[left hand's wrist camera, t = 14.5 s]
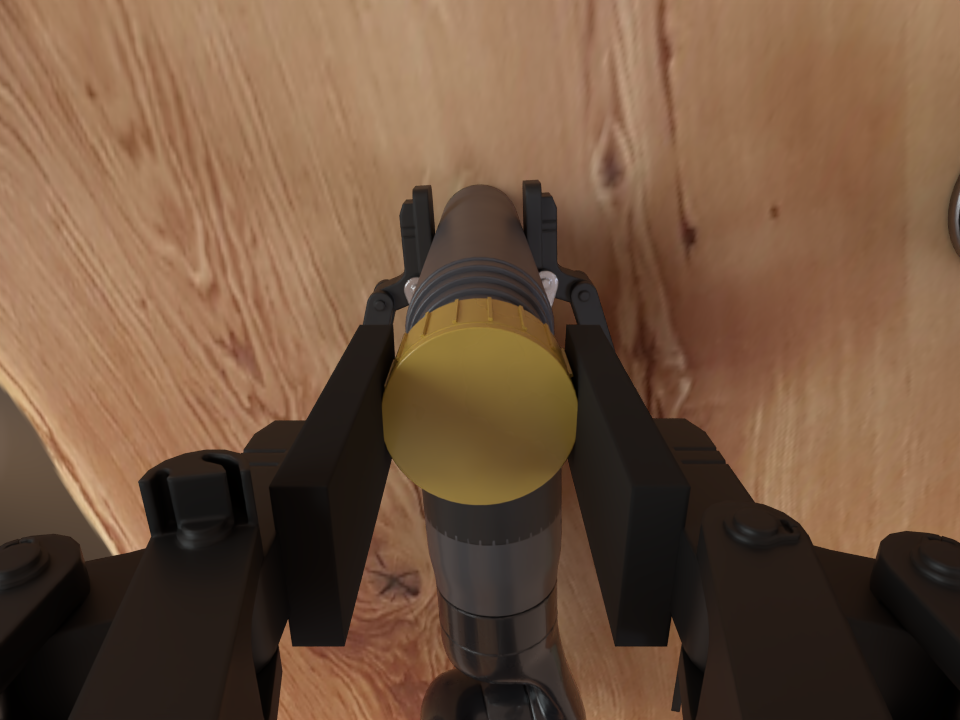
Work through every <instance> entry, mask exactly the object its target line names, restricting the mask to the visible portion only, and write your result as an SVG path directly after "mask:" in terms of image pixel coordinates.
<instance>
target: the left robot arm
mask: <svg viewBox="0 0 960 720" xmlns="http://www.w3.org/2000/svg"><path fill="white" fill-rule="evenodd" d="M565 353H566V356H567V359H568V362H569V364H570V367H571V370H572V373H573V376H574V377H571V379H572V382H573V385H574V388H575V390H576V394H577V398H578V410H577V425H576V439H575V443H574V446H573V449H572V451H571V453H570V454H569V456H568V462H569V466H570V470H571V474H572V478H573V482H574V486H575V489H576V493H577V497H578V501H579V505H580V509H581V513H582V517H583V521H584V525H585V529H586V533H587V537H588V541H589V545H590V549H591V553H592V557H593V561H594V565H595V569H596V573H597V577H598V581H599V584H600V588H601V592H602V596H603V600H604V604H605V608H606V612H607V616H608V620H609V624H610V628H611V632H612V636H613V640H614V644H615V646H667V644H668V637H669V631H670V624H671V617H672V618H673V621H674V624H675V626H676V629H677V631H678V634H679V637H680V639H681V642H682V646H681V652H680V658H679V665H678V671H677V677H676V683H675V689H674V696H673V702H672V709H671V711H676V712H680V707H681V705H682V714H683V720H960V543H959V542H957V541H956V540H953V539H950V538H947V537H944V536H942V537H941V536H939V535H936V534H931V533H923V532H912V531H904V532H898V533H892V534H889V535H888V536H887V537H886V538H884V539H883V540H882V541H881V542H880V546H879V549H878V552H877V556H876V559H873V558H868V557H863V556H858V555H853V554H848V553H843V552H838V551H833V550H829V549H825V548H821V547H818V546H814V545H813V544H812V542H811V539H810V537H809V535H808V534H807V533H806V531H805V530H804V529H803V528H802V526H801V525H800V524H799V523H798V522H797V521H795V520H794V519H792V518H791V517H789V516H788V515H787V514H785V513H784V512H781V511H779V510H776V509H774V508H772V507H769V506H767V505H764V504H759V503H755V502H754V500H753V499H752V498H751V496H750V495H749V493H748V492H747V490H746V489H745V488H744V486H743V485H742V483H741V482H740V481H739V479H738V478H737V476H736V475H735V473H734V472H733V471H732V469H731V468H730V466H729V465H728V464H726V463H725V459H724V458H723V456H722V455H721V454H720V452H719V451H716V446H715V445H714V444H713V442H712V441H711V439H710V438H709V436H708V435H707V434H706V432H705V431H703V430H702V429H700V428H698V427H697V426H695V425H694V424H692V423H691V422H689V421H688V420H686V419H652V417H651V415H650V413H649V411H648V410H647V408H646V406H645V404H644V403H643V401H642V399H641V397H640V395H639V394H638V392H637V390H636V388H635V387H634V385H633V383H632V381H631V379H630V378H629V376H628V374H627V372H626V371H625V369H624V367H623V365H622V363H621V362H620V360H619V358H618V356H617V355H616V353H615V351H614V349H613V347H612V346H611V344H610V342H609V340H608V339H607V337H606V335H605V333H604V331H603V330H602V328H601V326H600V325H566V343H565ZM393 359H394V360H395V350H394V332H393V325H359V327H358V329H357V331H356V332H355V334H354V336H353V338H352V340H351V341H350V343H349V345H348V347H347V348H346V350H345V352H344V354H343V356H342V357H341V359H340V361H339V363H338V364H337V366H336V368H335V370H334V372H333V373H332V375H331V377H330V379H329V380H328V382H327V384H326V386H325V388H324V389H323V391H322V393H321V395H320V396H319V398H318V400H317V402H316V404H315V405H314V407H313V409H312V411H311V412H310V414H309V416H308V418H307V420H306V421H274V422H272V423H271V424H269V425H268V426H266V427H265V428H263V429H261V430H260V431H258V432H257V433H255V434H254V436H253V437H252V438H251V440H250V441H249V443H248V444H247V446H246V447H245V448H244V452H243V453H241V454H240V453H236V452H232V451H228V450H201V451H196V452H190V453H185V454H182V455H179V456H176V457H174V458H171V459H168V460H165V461H163V462H162V463H160V464H158V465H157V466H155V467H153V468H152V469H150V470H148V471H147V473H146V474H145V475H144V476H143V477H142V478H141V479H140V480H139V481H138V483H139V487H140V491H141V495H142V500H143V504H144V508H145V512H146V516H147V520H148V524H149V529H150V533H151V538H150V541H149V543H148V545H147V547H146V548H145V549H141V550H137V551H134V552H130V553H125V554H120V555H115V556H110V557H105V558H100V559H95V560H91V561H86V562H85V561H84V558H83V554H82V551H81V548H80V544H78V543H77V542H76V541H75V540H74V539H72V538H71V537H69V536H63V535H58V534H47V535H37V536H29V537H24V538H21V539H19V540H18V539H16V540H13V541H10V542H7V543H5V544H3V545H2V546H0V720H277V715H278V706H279V697H280V688H281V679H282V665H281V658H280V652H279V646H278V644H279V641H280V639H281V636H282V634H283V631H284V628H285V626H286V623H287V620H289V627H290V634H291V640H292V646H345V642H346V638H347V634H348V630H349V626H350V622H351V619H352V615H353V611H354V607H355V603H356V599H357V595H358V591H359V587H360V583H361V579H362V575H363V571H364V567H365V563H366V559H367V555H368V551H369V547H370V543H371V539H372V535H373V531H374V528H375V524H376V520H377V516H378V512H379V508H380V504H381V500H382V496H383V492H384V488H385V484H386V480H387V476H388V472H389V468H390V464H391V460H392V457H391V455H390V453H389V451H388V450H387V447H386V444H385V442H384V431H383V416H382V397H383V393H384V385H385V382H386V379H387V377H388V374H389V371H390V368H391V365H392V362H393Z"/></svg>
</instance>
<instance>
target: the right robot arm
mask: <svg viewBox="0 0 960 720" xmlns="http://www.w3.org/2000/svg"><path fill="white" fill-rule="evenodd" d="M399 216H400V227H401V237H402V247H403V257H404V267H405V270H404V273H403V274H401V275H400V276H397V277H395V278H393V279H390V280H382V281H380V282H379V283H378V284H377V285H376V287H375V289H374V292H373V293H372V294H371V295H370V297H369V299H368V301H367V306H366V311H365V316H364V322H363V325H393V321H394V316H395V312H396V310H399V309H401V308H403V307H406V306H408V305H409V304H410V302H411V299H412V296H413V293H414V291H415V288H416V285H417V283H418V280H419V277H420V274H421V272H422V269H423V266H424V263H425V261H426V258H427V255H428V253H429V250H430V247H431V244H432V242H433V239H434V236H435V224H434V211H433V199H432V189H431V185H424V186H415V187H414V189H413V199H411V200H406V201H405V202H404V203H403V205H402V208H401V212H400V215H399ZM523 227H524V234H525V237H526V239H527V242H528V245H529V248H530V250H531V253H532V256H533V259H534V261H535V264H536V267H537V269H538V272H539V275H540V278H541V280H542V283H543V286H544V289H545V291H546V294H547V297H548V300H549V302H550V305H551V308H552V305H553V301H554V298H557V299H561V300H564V301H567V302H570V303H571V306H572V310H573V313H574V316H575V319H576V322H577V325H600V326H601V328H602V330H603V331H604V333H605V335H606V337H607V339H608V340H609V342H610V344H611V346H612V347H613V349H614V346H613V343H612V340H611V336H610V333H609V330H608V326H607V323H606V320H605V316H604V313H603V310H602V307H601V303H600V300H599V297H598V293H597V290H596V288H595V287H594V285H593V284H592V282H591V281H590V279H589V278H588V276H587V275H586V274H585V273H584V272H582V271H573V270H569V269H566V268H563V267H561V266H560V265H559V264H558V263H557V207H556V205H555V202H554V200H553V197H552V196H551V194H550V193H542V192H541V183H540V182H539V180H525V181H523ZM948 228H949V234H950V238H951V242H952V244H953V247H954V249H955V251H956V252H957V254H958V256H959V257H960V175H959V177H958V179H957V182H956V184H955V187H954V189H953V192H952V196H951V199H950V204H949V211H948ZM614 351H615V349H614ZM422 493H423V503H424V512H425V522H426V532H427V541H428V549H429V554H430V558H431V562H432V566H433V569H434V573H435V578H436V584H437V595H438V605H439V618H440V628H441V636H442V641H443V645H444V648H445V651H446V654H447V656H448V658H449V659H450V661H451V662H452V664H453V665H454V666H455V667H456V668H455V669H451V670H448V671H446V672H444V673H442V674H440V675H438V676H437V677H436V678H435V679H434V680H433V682H432V683H431V684H430V686H429V687H428V689H427V691H426V693H425V696H424V699H423V702H422V706H421V713H420V720H586V713H585V709H584V705H583V702H582V699H581V695H580V692H579V690H578V687H577V685H576V682H575V680H574V678H573V675H572V673H571V670H570V668H569V666H568V663H567V661H566V658H565V654H564V651H563V647H562V644H561V639H560V634H559V628H558V617H557V614H558V612H557V569H558V562H559V557H560V551H561V535H562V519H561V468H560V469H559V471H558V472H557V473H556V474H555V475H554V476H553V477H552V478H551V479H550V480H548V481H547V482H546V483H545V484H544V485H542V486H541V487H539V488H537V489H536V490H534V491H533V492H531V493H529V494H527V495H525V496H523V497H520V498H517V499H514V500H511V501H508V502H503V503H499V504H491V505H469V504H461V503H456V502H452V501H448V500H445V499H442V498H440V497H437V496H435V495H433V494H431V493H429V492H427V491H425V490H424V489H422Z"/></svg>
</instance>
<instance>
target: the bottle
mask: <svg viewBox="0 0 960 720" xmlns="http://www.w3.org/2000/svg"><path fill="white" fill-rule="evenodd" d="M488 297H492V299H494V300H500V301H504V302H508V303H511V304H513V305H516V306H518V307H519V305H521V306H523V309H524V310H526V311H528V312H529V313H531V314H532V315H534V316H535V317H536V318H538V319H539V320H540V321H541V322H542V323H543V324H545V323H547V325H548V326H549V329H550V332H551V333H552V334H553V336H554V317H553V312H552V308H551V305H550V302H549V300H548V297H547V294H546V291H545V289H544V286H543V283H542V280H541V278H540V275H539V272H538V269H537V267H536V264H535V261H534V259H533V256H532V253H531V250H530V248H529V245H528V242H527V239H526V237H525V234H524V231H523V228H522V226H521V223H520V220H519V218H518V215H517V212H516V209H515V207H514V205H513V203H512V202H511V200H510V199H509V198H508V197H507V196H506V195H505V194H504V193H503V192H502V191H500V190H498V189H496V188H494V187H491V186H488V185H472V186H469V187H466V188H463V189H462V190H460V191H458V192H457V193H456V194H454V195H453V197H452V198H451V199H450V200H449V201H448V203H447V205H446V207H445V209H444V212H443V214H442V217H441V220H440V223H439V225H438V228H437V231H436V233H435V236H434V239H433V242H432V244H431V247H430V250H429V253H428V255H427V258H426V261H425V263H424V266H423V269H422V272H421V274H420V277H419V280H418V283H417V285H416V288H415V291H414V293H413V296H412V299H411V302H410V304H409V307H408V311H407V316H406V325H405V327H406V333H407V334H408V333H409V331H410V330H411V329H412V327H413V326H414V325H416V324H417V323H418V322H419V321H420V320H421V319H422V318H423V317H425V314H426V313H427V312H428V311H429V313H430V312H432V311H434V310H436V309H437V308H439V307H442V306H444V305H447V304H449V303H452V302H455V300H456V299H459V301H460V300H466V299H476V298H486V299H488Z"/></svg>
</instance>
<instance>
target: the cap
mask: <svg viewBox="0 0 960 720" xmlns="http://www.w3.org/2000/svg"><path fill="white" fill-rule="evenodd" d="M571 377H574V376H573V373H572V370H571V367H570V364H569V362H568V359H567V356H566V353H565V350H564V348H562V349H561V348H560V346H559V344H558V342H557V340H556V339H555V337H554V336H553V334H552V333H551V332H550V329H549V326H548V325H547V323H545V324H543V323H542V322H541V321H540V320H539V319H538V318H536V317H535V316H534V315H532V314H531V313H529V312H528V311H526V310H524V309H523V306H521V305H519V307H518V306H516V305H513V304H511V303H508V302H504V301H500V300H494V299H492V297H488V299H486V298H476V299H466V300H460V301H459V299H456V300H455V302H452V303H449V304H447V305H444V306H442V307H439V308H437V309H436V310H434V311H432V312H430V313H429V311H428V312H427V313H426V314H425V317H423V318H422V319H421V320H420V321H419V322H418V323H417V324H416V325H414V326H413V327H412V329H411V330H410V331H409V333H408V334H407V333H406V332H405V334H404V335H403V338H402V341H401V344H400V347H399V350H398V352H397V355H396V358H395V360H394V359H393V362H392V365H391V368H390V371H389V374H388V377H387V379H386V382H385V385H384V393H383V397H382V416H383V431H384V442H385V444H386V447H387V450H388V451H389V453H390V455H391V457H392V459H393V460H394V462H395V463H396V464H397V466H398V467H399V469H400V470H401V471H402V472H403V473H404V474H405V475H406V476H407V477H408V478H409V479H410V480H411V481H413V482H414V483H415V484H416V485H417V486H419V487H421V488H422V489H424V490H425V491H427V492H429V493H431V494H433V495H435V496H437V497H440V498H442V499H445V500H448V501H452V502H456V503H461V504H469V505H491V504H499V503H503V502H508V501H511V500H514V499H517V498H520V497H523V496H525V495H527V494H529V493H531V492H533V491H534V490H536V489H537V488H539V487H541V486H542V485H544V484H545V483H546V482H547V481H548V480H550V479H551V478H552V477H553V476H554V475H555V474H556V473H557V472H558V471H559V469H560V468H561V467H562V465H563V464H564V463H565V461H566V460H567V458H568V456H569V454H570V453H571V451H572V449H573V446H574V443H575V439H576V425H577V410H578V398H577V394H576V390H575V388H574V385H573V382H572V379H571Z"/></svg>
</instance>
